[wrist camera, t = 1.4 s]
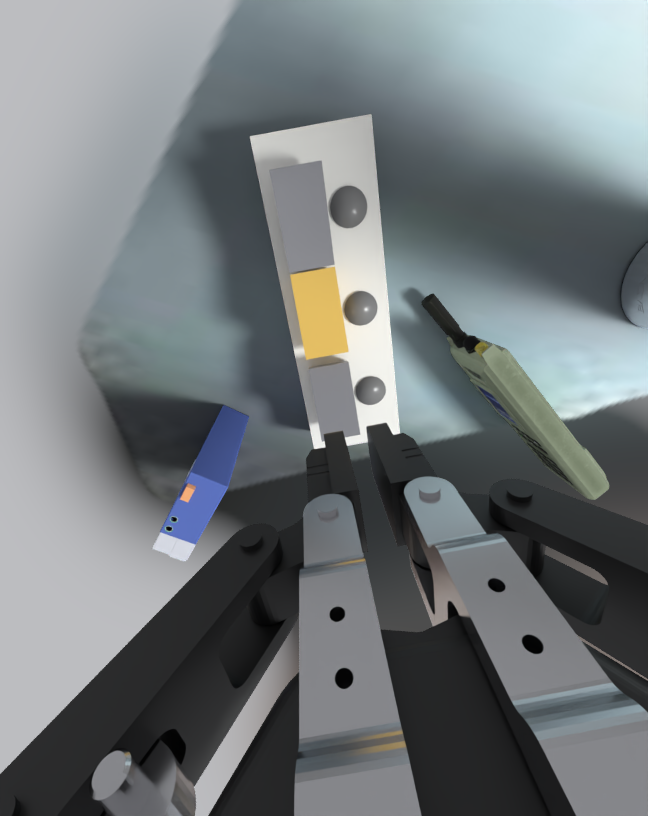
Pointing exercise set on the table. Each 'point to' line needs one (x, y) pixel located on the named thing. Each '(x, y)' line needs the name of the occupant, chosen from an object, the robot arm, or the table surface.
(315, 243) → the grey flat block
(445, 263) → the table surface
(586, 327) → the table surface
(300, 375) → the power strip
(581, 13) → the table surface
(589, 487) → the handheld radio
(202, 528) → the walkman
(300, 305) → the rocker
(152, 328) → the table surface
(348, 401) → the block
